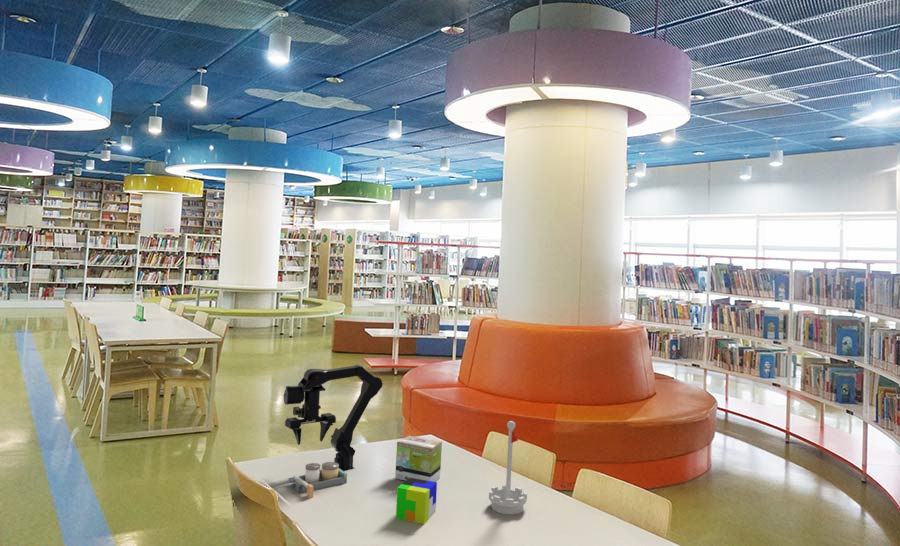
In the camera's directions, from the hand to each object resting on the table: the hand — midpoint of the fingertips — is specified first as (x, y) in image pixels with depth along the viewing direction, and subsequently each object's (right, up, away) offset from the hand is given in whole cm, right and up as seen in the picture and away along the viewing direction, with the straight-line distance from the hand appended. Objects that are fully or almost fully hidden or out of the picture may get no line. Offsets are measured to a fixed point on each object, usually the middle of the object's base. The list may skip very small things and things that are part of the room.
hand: (310, 442), depth 223 cm
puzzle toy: (+43, -15, -32) cm, 55 cm away
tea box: (+41, -14, 0) cm, 44 cm away
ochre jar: (+9, -12, -8) cm, 17 cm away
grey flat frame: (+5, -12, -11) cm, 17 cm away
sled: (-2, -12, -20) cm, 24 cm away
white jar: (+4, -12, -12) cm, 17 cm away
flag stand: (+74, -16, -23) cm, 79 cm away
